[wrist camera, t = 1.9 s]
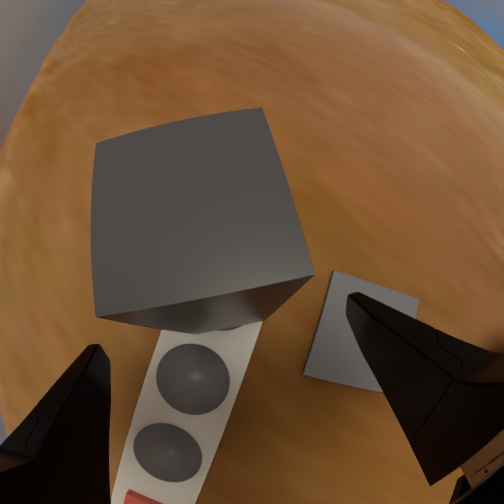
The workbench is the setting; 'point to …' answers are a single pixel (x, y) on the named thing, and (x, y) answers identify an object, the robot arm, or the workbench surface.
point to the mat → (348, 333)
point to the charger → (194, 225)
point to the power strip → (182, 414)
